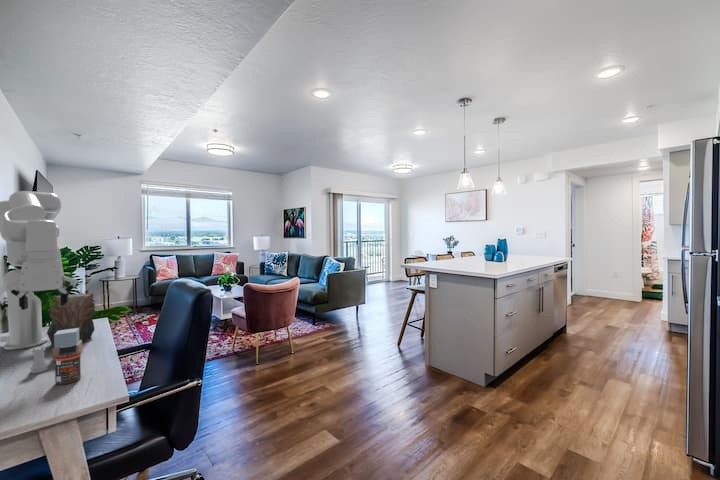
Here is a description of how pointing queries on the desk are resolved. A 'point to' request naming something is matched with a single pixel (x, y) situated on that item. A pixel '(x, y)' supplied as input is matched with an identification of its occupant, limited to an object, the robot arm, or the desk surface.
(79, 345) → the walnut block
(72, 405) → the desk surface
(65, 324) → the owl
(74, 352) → the supplement bottle
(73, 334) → the slate block
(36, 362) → the rook chess piece
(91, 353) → the desk surface
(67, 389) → the desk surface
